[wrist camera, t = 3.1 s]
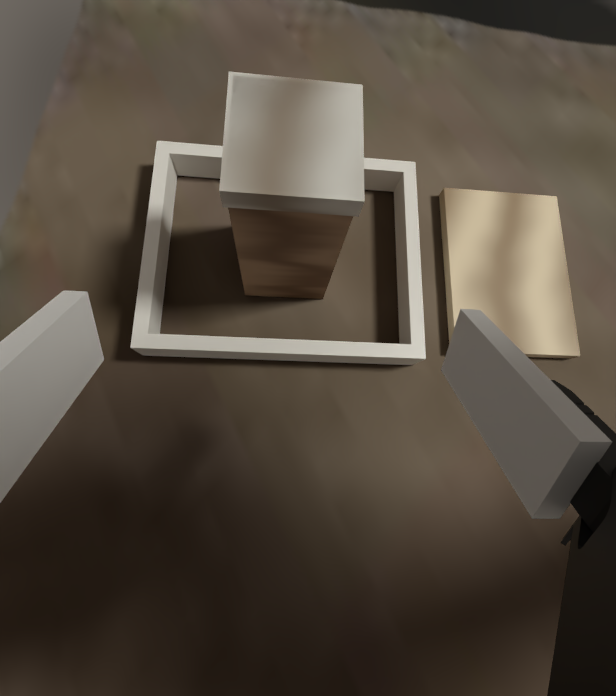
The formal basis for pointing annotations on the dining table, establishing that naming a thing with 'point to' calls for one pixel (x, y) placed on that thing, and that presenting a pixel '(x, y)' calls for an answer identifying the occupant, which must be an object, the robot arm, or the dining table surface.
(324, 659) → the dining table surface
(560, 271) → the board
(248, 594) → the dining table surface
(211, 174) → the white rectangular frame
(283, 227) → the canister
